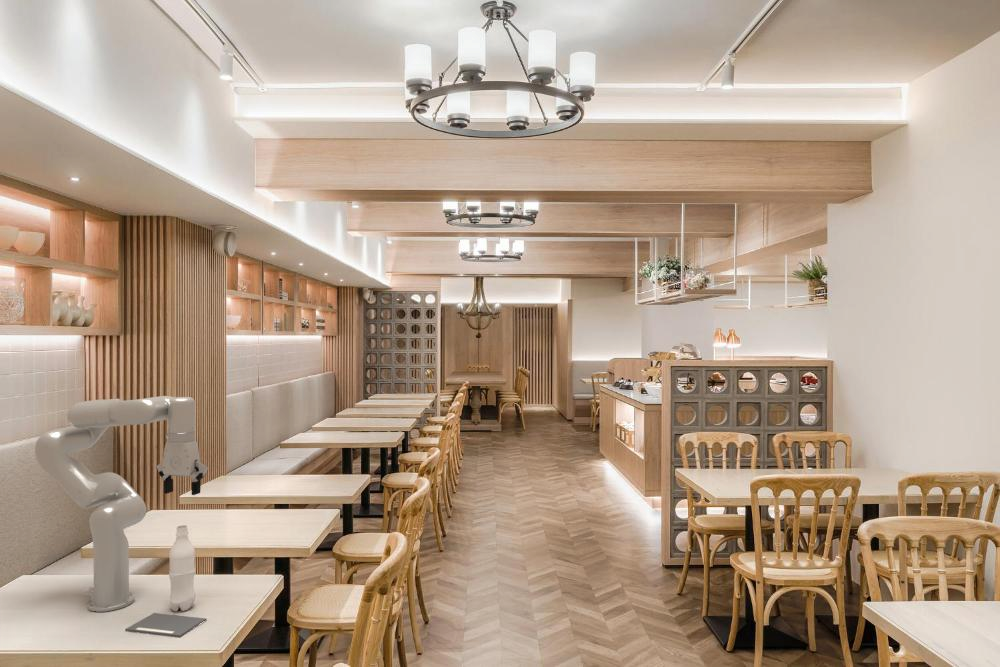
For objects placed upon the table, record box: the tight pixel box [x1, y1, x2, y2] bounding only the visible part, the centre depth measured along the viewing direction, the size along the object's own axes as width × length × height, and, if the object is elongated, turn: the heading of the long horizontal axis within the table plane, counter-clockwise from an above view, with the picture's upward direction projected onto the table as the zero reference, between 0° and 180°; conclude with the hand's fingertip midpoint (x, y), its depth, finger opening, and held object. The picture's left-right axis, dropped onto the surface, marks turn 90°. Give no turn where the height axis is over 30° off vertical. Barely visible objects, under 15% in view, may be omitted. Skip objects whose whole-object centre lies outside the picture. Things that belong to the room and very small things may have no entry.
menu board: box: [124, 612, 207, 638], centre depth 189 cm, size 18×11×1 cm, turn 77°
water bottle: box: [168, 524, 196, 612], centre depth 201 cm, size 7×7×25 cm
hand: (182, 493), depth 201 cm, fingers open, 9 cm apart
